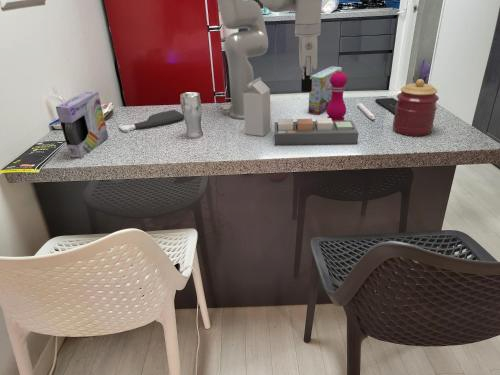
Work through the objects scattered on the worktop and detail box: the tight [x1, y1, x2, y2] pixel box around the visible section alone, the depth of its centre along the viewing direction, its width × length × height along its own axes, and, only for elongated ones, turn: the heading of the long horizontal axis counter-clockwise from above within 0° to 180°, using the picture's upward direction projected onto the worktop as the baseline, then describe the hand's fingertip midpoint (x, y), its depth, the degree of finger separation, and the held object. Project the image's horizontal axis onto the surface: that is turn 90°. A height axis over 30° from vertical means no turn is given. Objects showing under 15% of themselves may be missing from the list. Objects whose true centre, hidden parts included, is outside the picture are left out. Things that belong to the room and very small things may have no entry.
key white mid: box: [315, 117, 333, 130], centre depth 125 cm, size 5×5×4 cm
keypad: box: [273, 119, 359, 147], centre depth 127 cm, size 27×12×4 cm, turn 86°
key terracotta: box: [296, 118, 313, 131], centre depth 126 cm, size 5×5×4 cm
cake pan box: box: [55, 90, 109, 159], centre depth 125 cm, size 19×5×18 cm, turn 170°
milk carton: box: [243, 76, 272, 137], centre depth 131 cm, size 7×7×19 cm
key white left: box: [277, 118, 294, 131], centre depth 126 cm, size 5×5×4 cm
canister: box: [392, 78, 440, 137], centre depth 126 cm, size 13×13×18 cm
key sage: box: [335, 122, 353, 130], centre depth 126 cm, size 5×5×4 cm
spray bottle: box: [118, 109, 185, 133], centre depth 148 cm, size 3×11×25 cm
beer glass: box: [180, 91, 204, 139], centre depth 132 cm, size 7×7×15 cm
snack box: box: [307, 66, 343, 116], centre depth 154 cm, size 21×6×15 cm, turn 147°
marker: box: [357, 102, 376, 121], centre depth 147 cm, size 18×2×2 cm, turn 2°
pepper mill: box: [325, 68, 348, 121], centre depth 136 cm, size 7×7×20 cm
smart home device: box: [374, 97, 398, 116], centre depth 153 cm, size 8×2×20 cm
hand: (306, 91), depth 120 cm, fingers closed
